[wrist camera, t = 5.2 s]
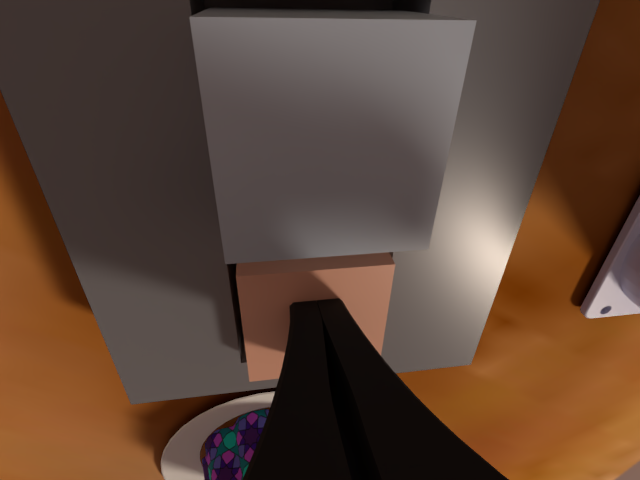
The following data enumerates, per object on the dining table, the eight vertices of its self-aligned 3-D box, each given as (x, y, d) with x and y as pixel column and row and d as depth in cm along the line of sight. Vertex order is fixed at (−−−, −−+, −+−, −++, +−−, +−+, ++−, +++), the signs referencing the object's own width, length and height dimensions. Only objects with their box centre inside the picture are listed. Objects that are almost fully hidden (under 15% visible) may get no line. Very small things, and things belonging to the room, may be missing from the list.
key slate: (403, 10, 8) (476, 20, 6) (382, 182, 10) (428, 249, 8) (210, 7, 8) (189, 16, 5) (231, 189, 10) (225, 264, 7)
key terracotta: (364, 205, 12) (395, 264, 10) (355, 298, 15) (379, 366, 12) (239, 212, 12) (235, 276, 9) (249, 308, 14) (249, 381, 11)
